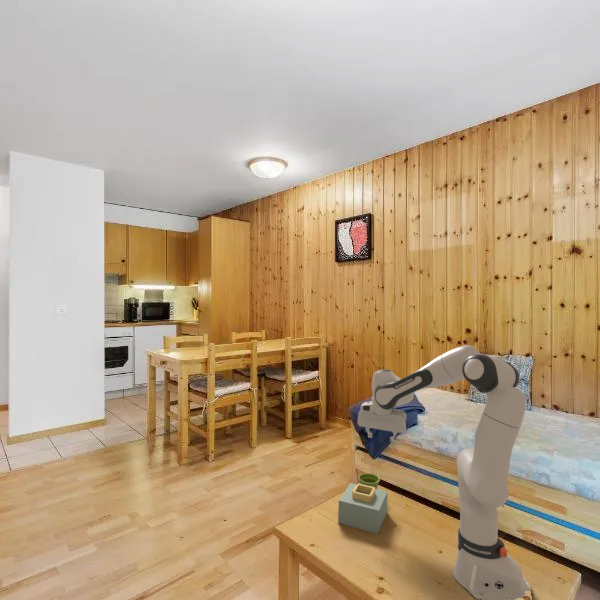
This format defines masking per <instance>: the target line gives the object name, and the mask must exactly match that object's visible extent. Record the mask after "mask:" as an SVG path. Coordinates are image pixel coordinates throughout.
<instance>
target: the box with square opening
mask: <svg viewBox="0 0 600 600" xmlns="http://www.w3.org/2000/svg"><path fill="white" fill-rule="evenodd" d="M388 493H389V491H386V490H383V489H378V488H377V489H375V487H371V486H367V485H362V484H360V483H354V482H353V483H352V482H350V483H349V485H348V486H347V488H346V489H345V490H344V492H343V494H342V495H341V496H340V498H339V499H338V511H337V512H338V516H337V521H338V522H337V523H338V524H341V525H345V526H347V527H351V528H355V529H359V530H362V531H366V532H369V533H372V534H377V535H379V534H380V532H381V529H382V526H383V523H384V521H385V519H386V516H387V513H388Z"/></svg>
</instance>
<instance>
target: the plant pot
mask: <svg viewBox="0 0 600 600" xmlns="http://www.w3.org/2000/svg"><path fill="white" fill-rule="evenodd" d="M358 480H359V484H362V485H367V486H371V487H375V489H378V485H379V482H380V480H381V479H380V477H379V476H378V475H376V474H374V473H368V472H365V473H361V474H359V475H358Z"/></svg>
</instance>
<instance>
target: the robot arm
mask: <svg viewBox="0 0 600 600" xmlns="http://www.w3.org/2000/svg"><path fill="white" fill-rule="evenodd" d="M464 379H465V381H467V382H468V383H469V384H470V385H471V386H473V387H474V388H475V389H476V390H477V391H479V392H480V393H481V394H486V403H485V406H484V409H483V412H482V414H481V417H480V419H479V422H478V425H477V427H476V430H475V433H474V447H473V448H471V447H470V448H469V447H468V448H465V449H464V448H463V449H462V450H461V451H460V452H459V453H458V455H457V457H456V467H457V468H456V470H457V483H458V484H457V485H458V494H459V504H460V505H459V507H460V511H459V512H460V513H459V514H460V515H459V518H460V519H459V520H460V521H459V528H458V532H457V549H458V550H457V557H456V560H455V565H454V566H453V569H452V574H453V577H454V579H455V580H456V581H457V582H458V583H459V584H460V585H461V586H462V587H463V588H464V589H465V590H467V591H468V592H469V593H470V595H471V594H472V595H473V596H472V595H471V596H472V597H473V598H474V597H475V598H474V599H476V600H480V599H481V600H509V599H510V600H515V599H517V598H523V597H524V595H525V591H526V590H527V591H531V590H532V586H531V585H530V583H529V580H527V579H526V578H525V577H524V573H523V571H522V568H521V567H520V564H519V563H518V562H517V561H516V560H515V559H514V558H512V556H510V555H509V554H508V553H507V552H508V551H507V549H506V548H505V547H506V546H505V543H504V539H503V538H502V537H501V538H499V536H498V534H499V512H498V509H497V508H499V507H502V506H503V505H505V504H506V503H507V501H508V499H509V492H510V491H509V485H508V484H509V483H508V481H509V472H510V465H511V457H512V452H513V448H514V446H515V443H516V441H517V437H518V434H519V431H520V429H521V426H522V424H523V420H524V417H525V412H526V405H527V397H526V395H525V394H524V393H523V392H522V391H521V390H520V389H518V388H517V387H518V385H519V383H520V373H519V371H518V370H517V368H516V367H515V366H514V365H513V364H512V363H509V362H507V361H505V360H502V359H500V358H498V357H496V356H491V355H486V354H481V353H480V351H479V350H478V348H476V347H474V346H473V345H470V344H464V345H461V346H457V347H454V348H452V349H449V350H447V351H446V352H444V353H441V354H439V355H438V356H437V357H435V358H434V359H432V360H430V361H429V362H428V363H426V364H425V365H423V366H422V367H420V368H419V369H417V370H416V371H414V372H413V373H411V374H409V375H406V376H405V377H402V378H400V377H399V376H398V375H396V374H395V373H394V371H392V369H386V368H385V369H379V370H376V371H374V372H373V376H372V381H371V391H372V392H371V393H372V395H371V400H370V401H365V402H363V403H361V405H360V410H359V412H358V414H357V425H358V426H359V427H363V428H365V432H366V433H367V438H368V439H372V438H373V433H372V432H371V431H370V429H375V430H381V431H386V432H392V434H393V436H390V437H389V442H390V443H394V442H395V437H396V435H397V434H404V433H405V432H406V431H407V427H406V426H407V423H406V421H407V418H408V417H407V416H408V415H407V413H406V412H405V411H404V410H403V409H397V408H396V407H400V406H403V405H406V404H409V403H411V402H412V401H413V399H414V398H415V392H418V391H421V390H425V389H426V390H427V389H431V388H438V387H443V386H449V385H451V384H455V383H457V382H460V381H462V380H464ZM524 581H525V582H526V583H525V582H524ZM530 589H531V590H530Z"/></svg>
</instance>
